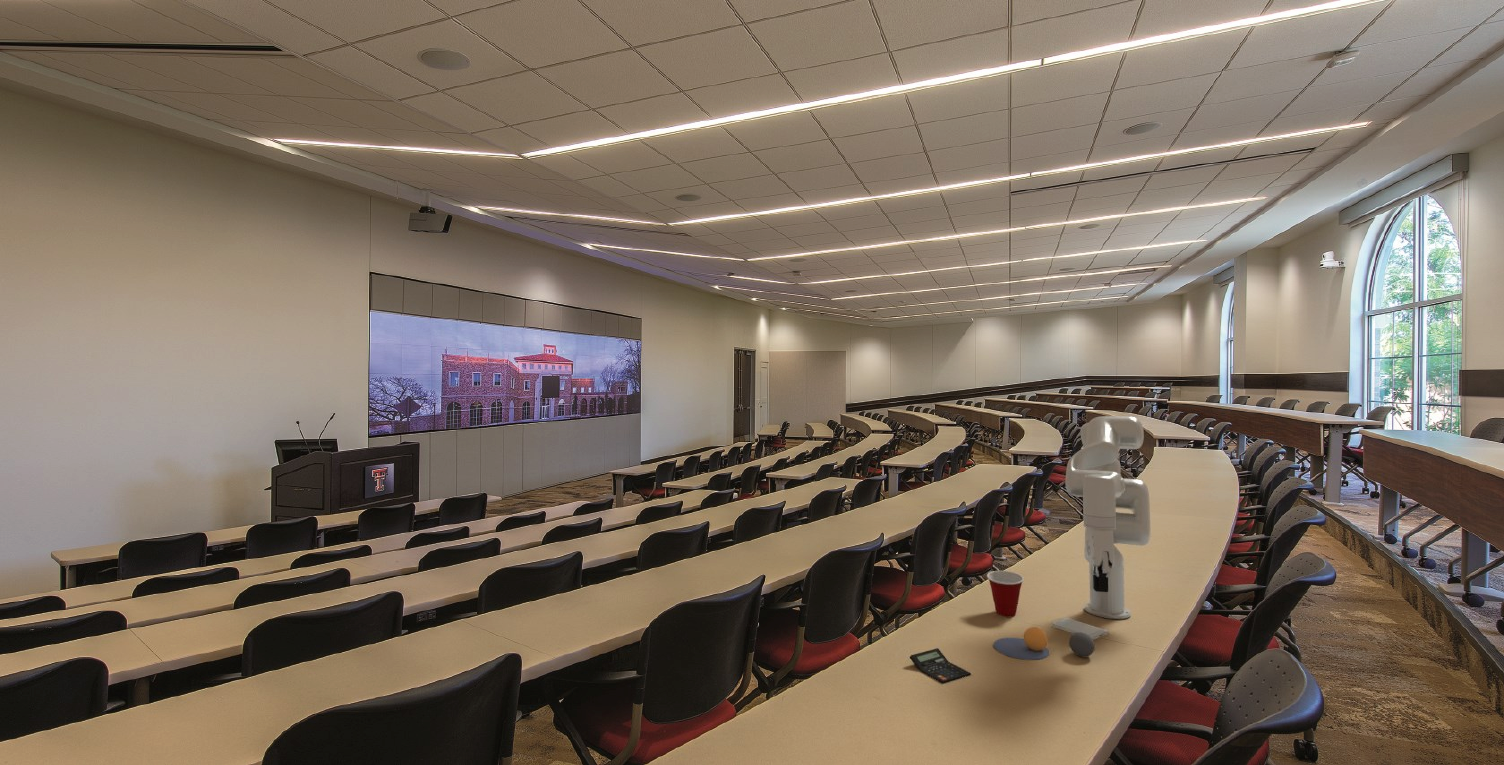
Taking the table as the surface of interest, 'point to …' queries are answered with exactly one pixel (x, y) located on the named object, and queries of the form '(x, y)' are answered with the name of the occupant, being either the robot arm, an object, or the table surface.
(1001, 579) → the plastic cup
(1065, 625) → the hard drive
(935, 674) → the calculator
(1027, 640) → the object ball
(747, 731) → the table surface
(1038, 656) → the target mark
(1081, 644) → the gray ball
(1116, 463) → the robot arm
